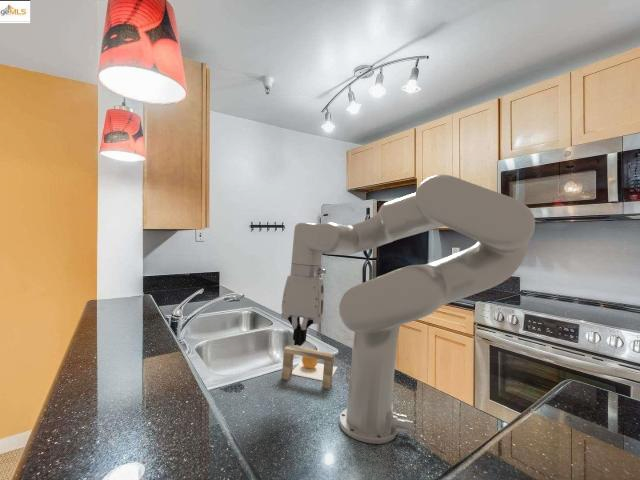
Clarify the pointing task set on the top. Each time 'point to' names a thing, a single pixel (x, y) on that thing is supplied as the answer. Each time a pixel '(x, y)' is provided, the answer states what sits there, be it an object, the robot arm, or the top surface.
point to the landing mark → (311, 371)
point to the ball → (309, 362)
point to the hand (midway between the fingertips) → (299, 343)
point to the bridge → (325, 356)
